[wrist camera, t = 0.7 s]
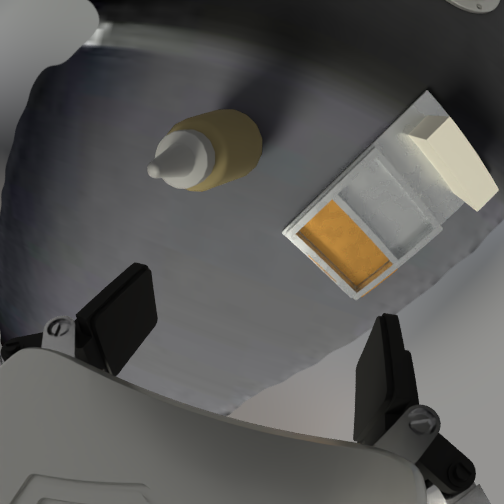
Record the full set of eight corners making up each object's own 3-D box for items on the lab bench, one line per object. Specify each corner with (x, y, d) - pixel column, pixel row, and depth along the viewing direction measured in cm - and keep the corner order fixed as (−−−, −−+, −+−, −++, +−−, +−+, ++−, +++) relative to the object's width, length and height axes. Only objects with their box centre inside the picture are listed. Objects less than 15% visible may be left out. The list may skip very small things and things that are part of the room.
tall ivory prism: (427, 115, 26) (449, 116, 20) (471, 174, 27) (498, 189, 21) (407, 134, 28) (426, 139, 22) (453, 193, 29) (477, 211, 23)
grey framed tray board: (425, 90, 25) (431, 89, 23) (487, 174, 27) (496, 179, 25) (282, 230, 37) (279, 237, 35) (351, 295, 39) (351, 305, 37)
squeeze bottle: (283, 134, 32) (236, 153, 17) (244, 187, 36) (175, 248, 21) (227, 96, 32) (137, 88, 16) (193, 149, 36) (96, 184, 20)
